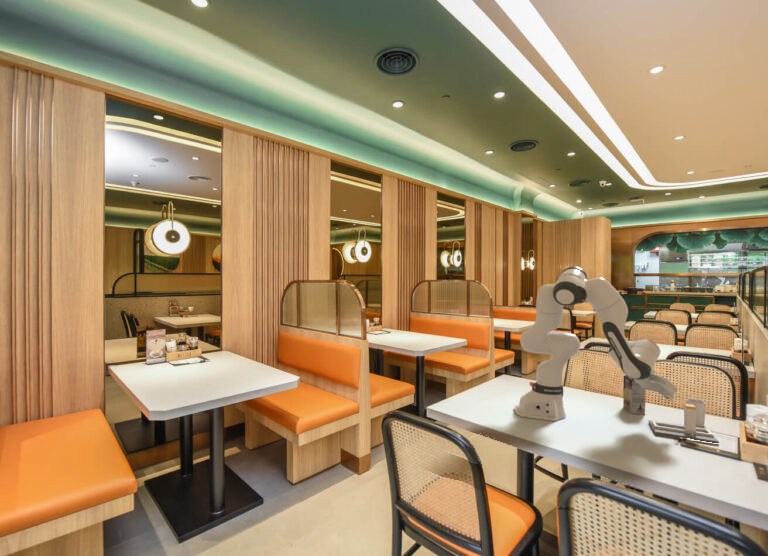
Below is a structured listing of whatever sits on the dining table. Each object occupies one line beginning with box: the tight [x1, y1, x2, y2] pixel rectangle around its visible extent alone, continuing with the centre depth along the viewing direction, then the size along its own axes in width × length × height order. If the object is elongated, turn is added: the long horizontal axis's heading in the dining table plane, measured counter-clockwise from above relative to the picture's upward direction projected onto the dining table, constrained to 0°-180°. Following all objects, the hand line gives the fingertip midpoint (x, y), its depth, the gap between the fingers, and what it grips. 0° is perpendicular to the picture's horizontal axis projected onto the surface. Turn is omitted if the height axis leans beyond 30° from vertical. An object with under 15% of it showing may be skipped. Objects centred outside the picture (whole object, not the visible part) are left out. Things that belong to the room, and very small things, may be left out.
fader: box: [683, 403, 697, 431], centre depth 152 cm, size 3×4×10 cm
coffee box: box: [622, 374, 646, 415], centre depth 180 cm, size 9×6×16 cm
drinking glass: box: [685, 398, 707, 427], centre depth 164 cm, size 7×7×10 cm
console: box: [648, 419, 720, 443], centre depth 154 cm, size 20×14×2 cm
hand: (670, 398), depth 155 cm, fingers closed
